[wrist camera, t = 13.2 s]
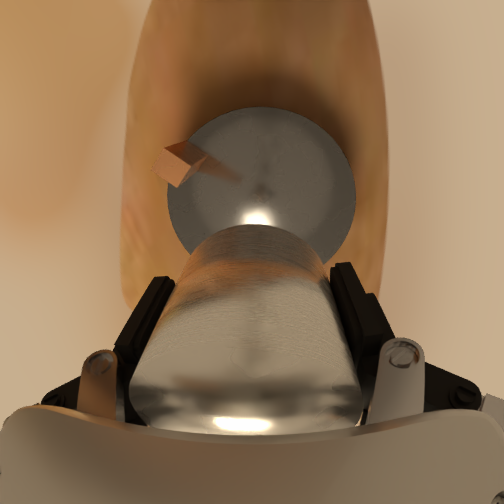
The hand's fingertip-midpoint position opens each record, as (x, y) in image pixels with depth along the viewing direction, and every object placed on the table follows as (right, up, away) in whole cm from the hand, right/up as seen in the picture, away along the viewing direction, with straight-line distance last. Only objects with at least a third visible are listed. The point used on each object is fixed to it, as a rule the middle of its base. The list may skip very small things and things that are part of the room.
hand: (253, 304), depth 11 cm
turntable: (+1, +7, +12) cm, 14 cm away
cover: (0, 0, +1) cm, 1 cm away
